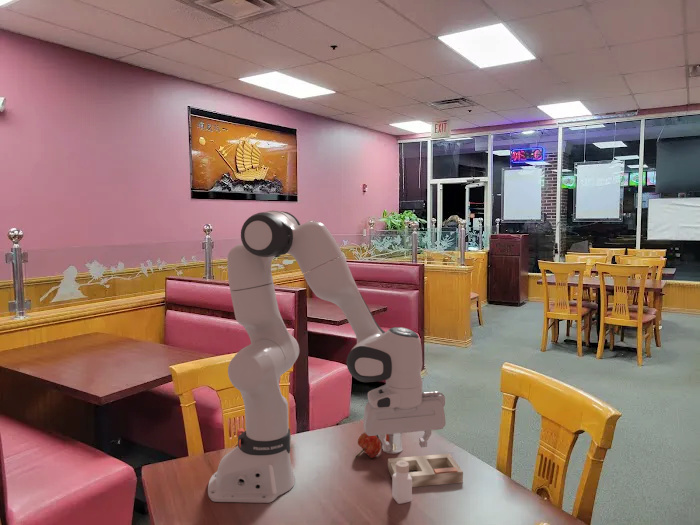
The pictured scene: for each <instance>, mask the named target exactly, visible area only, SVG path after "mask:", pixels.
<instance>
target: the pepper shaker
mask: <svg viewBox="0 0 700 525" xmlns="http://www.w3.org/2000/svg"><path fill="white" fill-rule="evenodd" d="M408 472H410V471H409V463H408V462H406V461H397V463H396V473H395V474H393V475H392V477H391V478H392V480H391V483H392V484H391V486H392V487H391V488H392V489H391V492H392V493H391V496H392V498H393V500H395V502H396V503H397V504H398V505H399V504H400V505H402V504H405V503H411V502H412V500H413V491H412V490H413V487H412V478H411V476H410V475H409V474H408Z"/></svg>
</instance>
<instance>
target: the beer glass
mask: <svg viewBox="0 0 700 525" xmlns="http://www.w3.org/2000/svg"><path fill="white" fill-rule="evenodd" d="M402 435H403V433H397V434H386V435H385V438H384V441H388V442H389V444H390V451H384V450H382V451H383V452H384V453H387V454H392V455H393V454H400V453H401V452H402V451H403V445H402ZM381 449H383V446H382V445H381Z"/></svg>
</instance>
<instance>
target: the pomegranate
mask: <svg viewBox="0 0 700 525" xmlns="http://www.w3.org/2000/svg"><path fill="white" fill-rule="evenodd" d="M357 444H358V446H359V447H360V448H361V449H362V450H361V451H360V452H359V453H358V454H357V455H356V456H355V457H356V458H357V457H359V456H360V455H361V454H362V453H365V454H367V455H368V457H369V458H370V459H373V458H375V457H376V456H378V455H379V453H380V452H381V449H382V442H381V440H380V439H379V437H378V435H376V436H368V435H367V434H366V433H365V432H363V433H361V434H360V436H359V438H358V440H357Z"/></svg>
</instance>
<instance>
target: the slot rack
mask: <svg viewBox="0 0 700 525" xmlns="http://www.w3.org/2000/svg"><path fill="white" fill-rule="evenodd" d="M397 461H406V462H408V463H409V472H408V474H409V475H410V476H411V478H412V488H415V487H426V486H427V487H428V486H436V485H439V486H440V485H449V484H457V483H460V484H461V483H463V481H464V480H463V479H464V471H463V469H461V467H460V466H459V464H458V463H457V461H456V460H455V458H454V457H453V456H452V455H451V453H442V454H429V455H428V454H427V455H417V456H416V455H415V456H405V457H404V456H403V457H402V456H401V457H392V458H390V457H389V458H387V470H388V472H389V474H390V476H391V478H392V475H393V474H395V473H396V463H397Z"/></svg>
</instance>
